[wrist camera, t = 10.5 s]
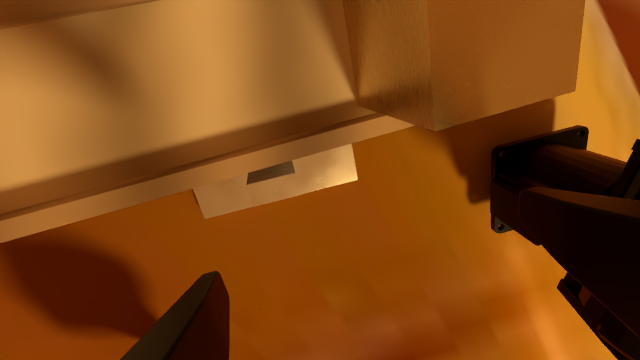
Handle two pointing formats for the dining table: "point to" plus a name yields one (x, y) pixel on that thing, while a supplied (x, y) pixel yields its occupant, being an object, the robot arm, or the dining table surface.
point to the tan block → (461, 56)
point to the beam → (164, 99)
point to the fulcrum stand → (278, 182)
